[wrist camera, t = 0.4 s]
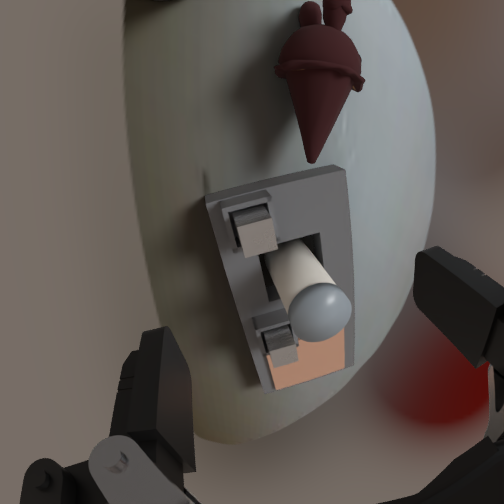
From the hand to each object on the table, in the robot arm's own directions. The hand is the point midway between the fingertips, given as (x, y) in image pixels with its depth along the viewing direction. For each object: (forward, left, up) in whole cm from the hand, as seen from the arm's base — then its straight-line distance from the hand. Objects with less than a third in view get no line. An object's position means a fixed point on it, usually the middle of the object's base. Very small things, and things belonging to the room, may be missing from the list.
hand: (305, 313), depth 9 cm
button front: (+3, 0, -15) cm, 15 cm away
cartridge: (+9, +3, -19) cm, 21 cm away
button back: (+15, 0, -15) cm, 21 cm away
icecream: (-8, +8, -19) cm, 22 cm away
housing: (+13, +3, -19) cm, 24 cm away
